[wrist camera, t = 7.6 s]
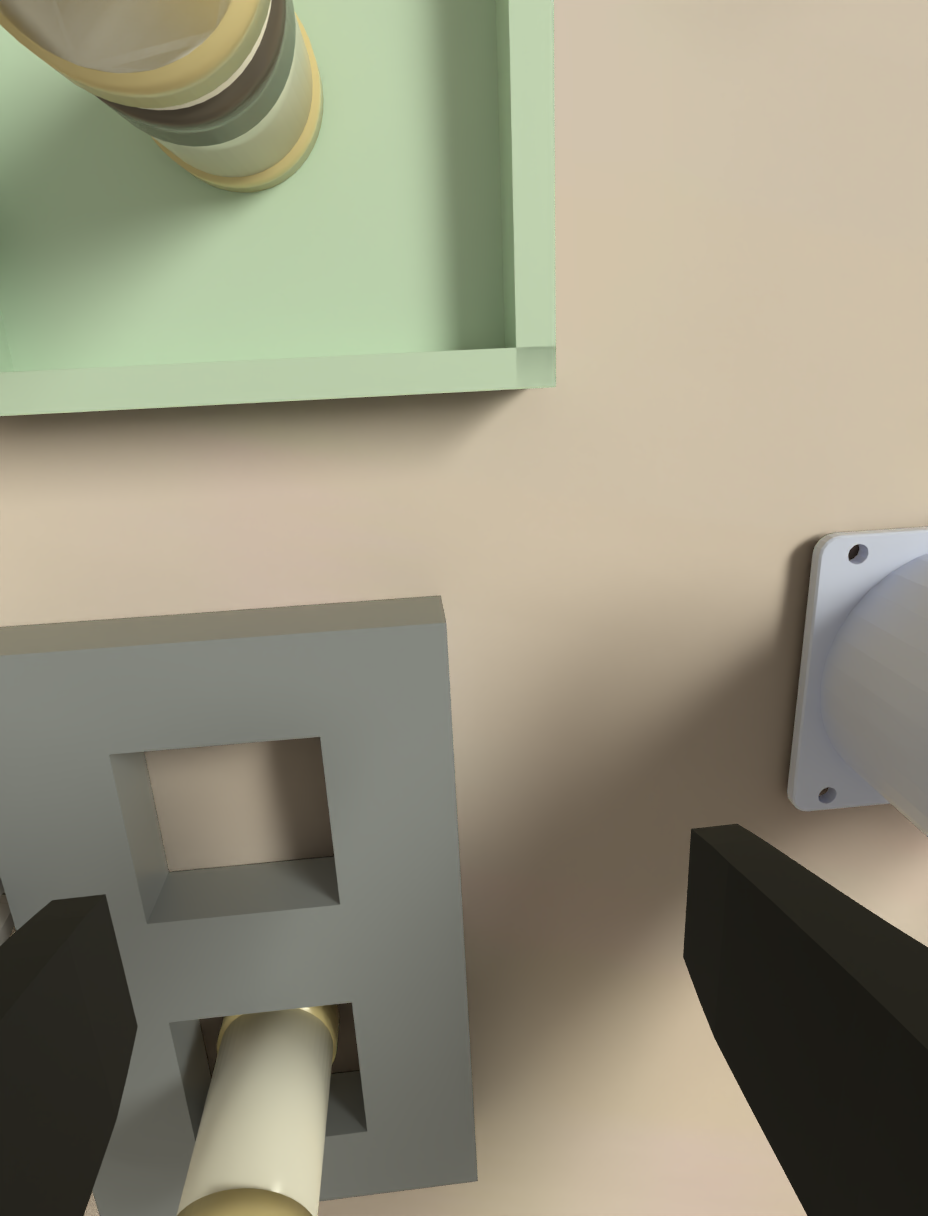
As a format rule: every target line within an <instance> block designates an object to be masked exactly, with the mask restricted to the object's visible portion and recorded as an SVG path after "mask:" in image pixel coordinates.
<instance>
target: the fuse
mask: <svg viewBox="0 0 928 1216" xmlns="http://www.w3.org/2000/svg"><path fill="white" fill-rule="evenodd" d="M338 1029H339V1011H338V1007H337V1004H333V1005H324V1006H315V1007H306V1008H297V1009H287V1010H278V1011H269V1012H260V1013H251V1014H242V1015H233V1016H224V1018H223V1022H222V1025H221V1029H220V1033H219V1037H218V1041H217V1059H216V1063H215V1067H214V1071H213V1075H212V1079H211V1083H210V1087H209V1091H208V1094H207V1098H206V1102H205V1106H204V1110H203V1114H202V1118H201V1122H200V1126H199V1130H198V1134H197V1138H196V1141H195V1145H194V1149H193V1153H192V1157H191V1161H190V1165H189V1169H188V1173H187V1177H186V1181H185V1185H184V1188H183V1192H182V1196H181V1200H180V1204H179V1208H178V1212H177V1216H318V1207H319V1197H320V1186H321V1175H322V1164H323V1154H324V1143H325V1132H326V1121H327V1111H328V1100H329V1089H330V1078H331V1068H332V1063H333V1061H334V1059H335V1056H336V1051H337V1040H338Z"/></svg>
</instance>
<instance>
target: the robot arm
mask: <svg viewBox="0 0 928 1216" xmlns="http://www.w3.org/2000/svg"><path fill="white" fill-rule="evenodd" d="M857 544H859V552H858V554H857V556H856V557H855V558H853V559H851V560H849V558H848V554H849V551H850V549H851V548H852V547H853V546H854V545H857ZM828 787H829V788H828ZM825 788H828V791H827V792H826V793H825V794H823V795H820V796H819V794H820V792H821V791H822V790H823V789H825ZM787 795H788V799H789V800H790V802H791V803H792V804H793V805H794V806H795V807H796V808H797V809H799V810H801V811H817V810H828V809H838V808H849V807H859V806H870V805H880V804H892V805H893V806H894V807H895V808H896V809H897V810H898V811H899V812H901V813H902V814H903V815H904V816H905V817H906V818H907V819H908V820H909V821H910V822H912V823H913V824H914V825H915V826H916V827H917V828H918V829H919V830H920V831H922V832H923V833H924V834H925V835H926V836H927V837H928V527H913V528H899V529H884V530H869V531H855V532H840V533H832V534H828V535H825V536H824V537H823V538H821V539H820V540H819V541H818V542H817V544H816V545H815V547H814V551H813V555H812V564H811V574H810V583H809V592H808V602H807V611H806V620H805V630H804V639H803V648H802V658H801V667H800V676H799V686H798V695H797V704H796V714H795V723H794V732H793V742H792V751H791V761H790V770H789V779H788V789H787ZM683 958H684V960H685V963H686V966H687V968H688V971H689V974H690V976H691V979H692V982H693V984H694V987H695V990H696V993H697V995H698V998H699V1001H700V1003H701V1006H702V1008H703V1011H704V1013H705V1016H706V1018H707V1021H708V1023H709V1026H710V1028H711V1030H712V1033H713V1035H714V1038H715V1040H716V1042H717V1044H718V1046H719V1048H720V1050H721V1052H722V1054H723V1056H724V1058H725V1059H726V1061H727V1063H728V1065H729V1067H730V1069H731V1071H732V1073H733V1075H734V1077H735V1079H736V1081H737V1083H738V1085H739V1086H740V1088H741V1090H742V1092H743V1094H744V1096H745V1098H746V1100H747V1102H748V1104H749V1106H750V1108H751V1109H752V1111H753V1113H754V1115H755V1117H756V1119H757V1121H758V1123H759V1125H760V1127H761V1128H762V1130H763V1132H764V1134H765V1136H766V1138H767V1140H768V1142H769V1144H770V1145H771V1147H772V1149H773V1151H774V1153H775V1155H776V1157H777V1159H778V1161H779V1163H780V1164H781V1166H782V1168H783V1170H784V1172H785V1174H786V1176H787V1178H788V1180H789V1182H790V1183H791V1185H792V1187H793V1189H794V1191H795V1193H796V1195H797V1197H798V1199H799V1200H800V1202H801V1204H802V1206H803V1208H804V1210H805V1212H806V1214H807V1216H928V947H926V946H925V945H923V944H922V943H920V942H918V941H917V940H915V939H913V938H912V937H910V936H909V935H907V934H905V933H904V932H902V931H901V930H899V929H897V928H896V927H894V926H893V925H891V924H890V923H888V922H886V921H885V920H883V919H882V918H880V917H879V916H877V915H876V914H874V913H872V912H871V911H869V910H868V909H866V908H865V907H863V906H862V905H860V904H859V903H857V902H855V901H854V900H852V899H851V898H849V897H848V896H846V895H845V894H843V893H842V892H840V891H839V890H837V889H836V888H834V887H833V886H831V885H830V884H828V883H827V882H825V881H824V880H822V879H821V878H819V877H818V876H816V875H815V874H813V873H812V872H810V871H809V870H807V869H806V868H804V867H803V866H801V865H800V864H798V863H797V862H796V861H794V860H793V859H791V858H790V857H788V856H787V855H785V854H784V853H782V852H781V851H779V850H778V849H776V848H775V847H773V846H772V845H770V844H769V843H767V842H765V841H764V840H762V839H761V838H759V837H758V836H756V835H755V834H753V833H752V832H750V831H748V830H747V829H745V828H743V827H742V826H740V825H738V824H732V825H723V826H714V827H705V828H696V829H691V842H690V858H689V874H688V890H687V906H686V922H685V938H684V954H683ZM137 1028H138V1025H137V1021H136V1017H135V1013H134V1009H133V1005H132V1001H131V997H130V993H129V988H128V984H127V980H126V976H125V972H124V968H123V964H122V960H121V956H120V951H119V947H118V943H117V939H116V935H115V931H114V927H113V923H112V919H111V914H110V910H109V906H108V902H107V898H106V894H103V895H94V896H85V897H76V898H67V899H58V900H52V901H51V902H49V903H48V904H47V905H46V906H45V907H43V908H42V909H41V910H40V911H39V912H38V913H36V914H35V915H34V916H33V917H32V918H31V919H29V920H28V921H27V922H26V923H25V924H24V925H23V926H22V927H21V928H19V929H18V930H17V931H16V932H15V933H14V934H13V935H12V936H11V937H9V938H8V939H7V940H6V941H5V942H4V943H3V944H2V945H1V946H0V1216H84V1213H85V1210H86V1207H87V1204H88V1202H89V1199H90V1196H91V1193H92V1190H93V1187H94V1184H95V1181H96V1178H97V1176H98V1173H99V1170H100V1167H101V1164H102V1161H103V1158H104V1155H105V1152H106V1150H107V1147H108V1144H109V1141H110V1138H111V1135H112V1132H113V1129H114V1126H115V1123H116V1120H117V1116H118V1112H119V1108H120V1103H121V1099H122V1095H123V1091H124V1087H125V1083H126V1079H127V1074H128V1070H129V1065H130V1060H131V1056H132V1051H133V1047H134V1042H135V1037H136V1033H137Z"/></svg>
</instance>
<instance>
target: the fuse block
mask: <svg viewBox="0 0 928 1216" xmlns="http://www.w3.org/2000/svg"><path fill="white" fill-rule="evenodd" d="M312 737H320V741H321V749H322V758H323V766H324V774H325V783H326V791H327V799H328V808H329V816H330V824H331V833H332V841H333V849H334V857H323V858H313V859H302V860H292V861H282V862H271V863H261V864H250V865H240V866H229V867H219V868H208V869H198V870H187V871H177V872H169V871H168V866H167V861H166V856H165V851H164V847H163V842H162V837H161V832H160V827H159V822H158V817H157V813H156V808H155V803H154V798H153V793H152V788H151V783H150V779H149V774H148V769H147V764H146V759H145V754H144V752H145V751H157V750H169V749H181V748H193V747H205V746H217V745H229V744H241V743H253V742H265V741H276V740H288V739H300V738H312ZM0 877H1V881H2V884H3V887H4V891H5V894H6V898H7V901H8V904H9V908H10V911H11V915H12V918H13V922H14V925H15V928H16V931H17V930H18V929H19V928H21V927H22V926H23V925H24V924H25V923H26V922H27V921H28V920H29V919H31V918H32V917H33V916H34V915H35V914H36V913H38V912H39V911H40V910H41V909H42V908H43V907H45V906H46V905H47V904H48V903H49V902H51V901H52V900H58V899H67V898H76V897H85V896H94V895H103V894H106V898H107V902H108V906H109V910H110V914H111V919H112V923H113V927H114V931H115V935H116V939H117V943H118V947H119V951H120V956H121V960H122V964H123V968H124V972H125V976H126V980H127V984H128V988H129V993H130V997H131V1001H132V1005H133V1009H134V1013H135V1017H136V1021H137V1025H138V1028H137V1033H136V1037H135V1042H134V1047H133V1051H132V1056H131V1060H130V1065H129V1070H128V1074H127V1079H126V1083H125V1087H124V1091H123V1095H122V1099H121V1103H120V1108H119V1112H118V1116H117V1120H116V1123H115V1126H114V1129H113V1132H112V1135H111V1138H110V1141H109V1144H108V1147H107V1150H106V1152H105V1155H104V1158H103V1161H102V1164H101V1167H100V1170H99V1173H98V1176H97V1178H96V1181H95V1184H94V1187H93V1190H92V1191H93V1194H94V1198H95V1201H96V1205H97V1208H98V1211H99V1215H100V1216H177V1212H178V1208H179V1204H180V1200H181V1196H182V1192H183V1188H184V1185H185V1181H186V1177H187V1173H188V1169H189V1165H190V1161H191V1157H192V1153H193V1149H194V1145H195V1141H196V1138H197V1134H198V1130H199V1126H200V1122H201V1118H202V1114H203V1110H204V1106H205V1102H206V1098H207V1094H208V1091H209V1087H210V1083H211V1075H210V1070H209V1065H208V1060H207V1055H206V1050H205V1046H204V1041H203V1036H202V1031H201V1026H200V1021H199V1019H205V1018H214V1017H223V1016H233V1015H242V1014H251V1013H260V1012H269V1011H278V1010H287V1009H297V1008H306V1007H315V1006H324V1005H333V1004H342V1003H352V1007H353V1016H354V1024H355V1032H356V1041H357V1049H358V1057H359V1066H360V1071H354V1072H345V1073H336V1074H331V1078H330V1089H329V1100H328V1111H327V1121H326V1132H325V1143H324V1154H323V1164H322V1175H321V1186H320V1197H319V1201H326V1200H333V1199H341V1198H349V1197H357V1196H365V1195H373V1194H380V1193H388V1192H396V1191H404V1190H412V1189H420V1188H427V1187H435V1186H443V1185H451V1184H459V1183H467V1182H474V1181H478V1177H477V1160H476V1142H475V1124H474V1106H473V1089H472V1071H471V1053H470V1036H469V1018H468V1000H467V982H466V965H465V947H464V929H463V911H462V894H461V876H460V858H459V840H458V823H457V805H456V787H455V769H454V752H453V734H452V716H451V699H450V681H449V663H448V645H447V628H446V619H445V614H444V609H443V605H442V600H441V596H430V597H416V598H402V599H388V600H374V601H360V602H346V603H332V604H318V605H304V606H290V607H276V608H262V609H248V610H234V611H220V612H206V613H192V614H178V615H164V616H150V617H136V618H122V619H108V620H94V621H80V622H66V623H52V624H38V625H24V626H10V627H0Z"/></svg>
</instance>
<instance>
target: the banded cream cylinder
mask: <svg viewBox="0 0 928 1216" xmlns="http://www.w3.org/2000/svg"><path fill="white" fill-rule="evenodd" d="M0 25H1V26H2V27H3V28H4V29H5V30H6V31H7V32H9V33H10V34H11V35H12V36H13V37H14V38H15V39H16V40H17V41H18V42H20V43H21V44H22V45H23V46H25V47H26V48H27V49H29V50H30V51H31V52H33V53H34V54H35V55H36V56H38V57H39V58H40V59H42V60H43V61H44V62H46V63H47V64H48V65H49V66H51V67H52V68H53V69H55V70H56V71H57V72H59V73H60V74H61V75H63V76H64V77H65V78H67V79H68V80H70V81H71V82H72V83H74V84H75V85H77V86H79V87H81V88H82V89H84V90H86V91H88V92H89V93H91V94H93V95H95V96H96V97H97V98H99V99H100V100H101V101H102V102H104V103H105V104H106V105H107V106H109V107H110V108H111V109H113V110H114V111H115V112H116V113H118V114H119V115H120V116H122V117H123V118H124V119H126V120H127V121H128V122H130V123H131V124H132V125H134V126H135V127H136V128H138V129H140V130H142V131H143V132H145V133H147V134H149V135H150V136H151V137H152V139H153V140H154V141H155V142H156V144H157V145H158V146H159V147H160V148H161V149H162V151H164V152H165V153H166V154H167V155H168V156H169V157H170V158H171V159H172V160H173V161H175V162H176V163H177V164H179V165H180V166H181V167H182V168H184V169H185V170H186V171H188V172H189V173H190V174H192V175H193V176H195V177H196V178H197V179H199V180H201V181H203V182H205V183H206V184H208V185H211V186H213V187H216V188H218V189H222V190H226V191H230V192H238V193H253V192H258V191H263V190H266V189H269V188H272V187H275V186H277V185H279V184H280V183H282V182H284V181H285V180H287V179H288V178H290V177H291V176H292V175H293V174H294V173H295V172H296V171H297V170H299V169H300V168H301V166H302V165H303V164H304V162H305V161H306V160H307V158H308V157H309V155H310V153H311V152H312V150H313V148H314V146H315V143H316V141H317V138H318V136H319V132H320V128H321V124H322V117H323V103H324V97H323V86H322V81H321V76H320V71H319V68H318V65H317V62H316V58H315V55H314V52H313V49H312V46H311V43H310V40H309V37H308V35H307V33H306V31H305V28H304V26H303V24H302V23H301V21H300V19H299V18H298V16H297V14H296V13H295V11H294V5H293V1H292V0H0Z"/></svg>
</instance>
